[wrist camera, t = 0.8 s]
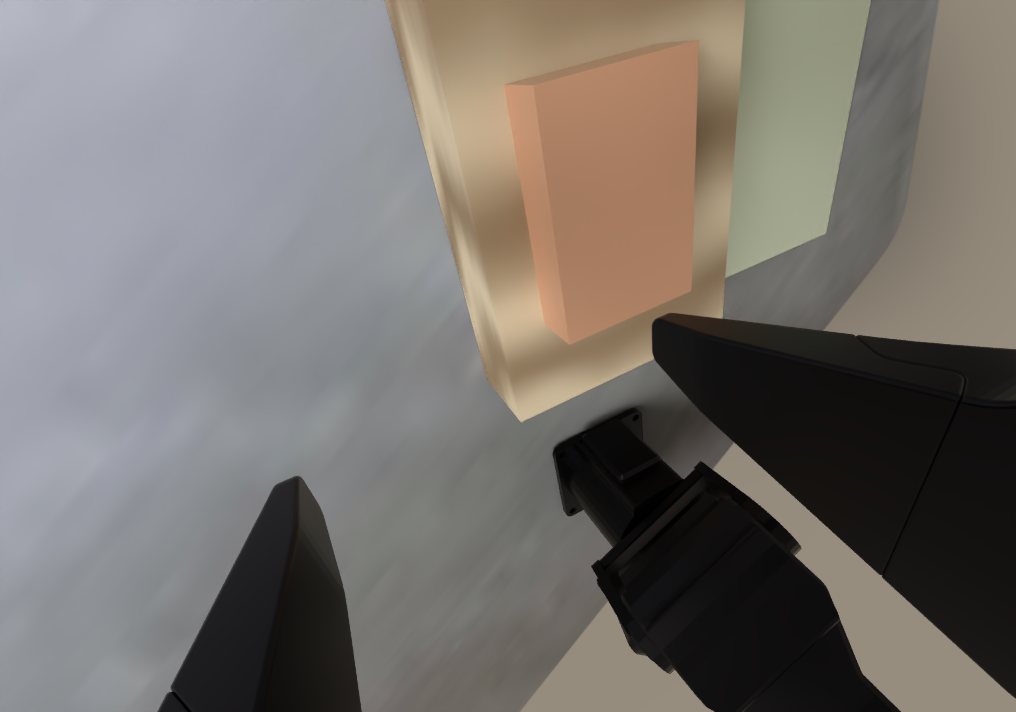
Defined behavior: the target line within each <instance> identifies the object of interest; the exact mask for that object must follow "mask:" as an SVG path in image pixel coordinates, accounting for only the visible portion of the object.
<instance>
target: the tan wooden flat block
mask: <svg viewBox="0 0 1016 712" xmlns="http://www.w3.org/2000/svg"><path fill="white" fill-rule="evenodd" d="M385 2H386V6H387V10H388V13H389V17H390V21H391V24H392V28H393V32H394V35H395V39H396V43H397V47H398V50H399V54H400V58H401V61H402V65H403V69H404V73H405V76H406V80H407V84H408V87H409V91H410V95H411V99H412V102H413V106H414V110H415V113H416V117H417V121H418V124H419V128H420V132H421V136H422V139H423V143H424V147H425V150H426V154H427V158H428V162H429V165H430V169H431V173H432V176H433V180H434V184H435V187H436V191H437V195H438V199H439V202H440V206H441V210H442V213H443V217H444V221H445V225H446V228H447V232H448V236H449V239H450V243H451V247H452V251H453V254H454V258H455V262H456V265H457V269H458V273H459V276H460V280H461V284H462V288H463V291H464V295H465V299H466V302H467V306H468V310H469V314H470V317H471V321H472V325H473V328H474V332H475V336H476V340H477V343H478V347H479V351H480V354H481V358H482V362H483V365H484V369H485V373H486V377H487V380H488V381H489V383H490V384H491V385H492V386H493V388H494V389H495V390H496V391H497V393H498V394H499V395H500V396H501V398H502V399H503V400H504V401H505V403H506V404H507V405H508V406H509V408H510V409H511V410H512V411H513V413H514V414H515V415H516V416H517V418H518V419H519V420H520V421H521V422H523V421H525V420H527V419H529V418H531V417H533V416H535V415H537V414H539V413H542V412H544V411H546V410H548V409H550V408H552V407H554V406H556V405H558V404H560V403H562V402H565V401H567V400H569V399H571V398H573V397H575V396H577V395H579V394H581V393H583V392H586V391H588V390H590V389H592V388H594V387H596V386H598V385H600V384H602V383H604V382H607V381H609V380H611V379H613V378H615V377H617V376H619V375H621V374H623V373H625V372H628V371H630V370H632V369H634V368H636V367H638V366H640V365H642V364H644V363H646V362H649V361H651V360H653V359H654V357H653V353H652V323H653V321H654V320H655V319H656V318H658V317H660V316H663V315H665V314H667V313H680V314H688V315H696V316H704V317H713V318H721V319H722V316H723V302H724V288H725V275H726V261H727V248H728V234H729V221H730V207H731V193H732V180H733V166H734V153H735V139H736V125H737V112H738V98H739V85H740V71H741V57H742V44H743V30H744V17H745V3H746V0H385ZM690 40H699V56H698V89H697V122H696V155H695V188H694V221H693V254H692V287H691V291H690V292H688V293H686V294H683V295H681V296H679V297H676V298H674V299H672V300H670V301H667V302H665V303H663V304H661V305H658V306H656V307H654V308H652V309H649V310H647V311H645V312H643V313H640V314H638V315H636V316H634V317H631V318H629V319H627V320H625V321H622V322H620V323H618V324H615V325H613V326H611V327H609V328H606V329H604V330H602V331H600V332H597V333H595V334H593V335H591V336H588V337H586V338H584V339H582V340H579V341H577V342H575V343H573V344H570V345H569V344H568V343H567V342H565V341H564V340H563V339H562V338H561V337H559V336H558V335H557V334H556V333H555V332H553V331H552V330H551V329H550V328H548V327H547V326H546V325H545V324H544V318H543V312H542V306H541V300H540V294H539V288H538V282H537V277H536V271H535V265H534V259H533V253H532V247H531V241H530V235H529V230H528V224H527V218H526V212H525V206H524V200H523V194H522V188H521V183H520V177H519V171H518V165H517V159H516V153H515V147H514V141H513V136H512V130H511V124H510V118H509V112H508V106H507V100H506V95H505V89H504V84H508V83H512V82H516V81H519V80H523V79H527V78H530V77H534V76H538V75H542V74H545V73H549V72H553V71H556V70H560V69H564V68H568V67H571V66H575V65H579V64H582V63H586V62H590V61H593V60H597V59H601V58H605V57H608V56H612V55H616V54H619V53H623V52H627V51H631V50H634V49H638V48H642V47H645V46H649V45H653V44H657V43H667V42H679V41H690Z"/></svg>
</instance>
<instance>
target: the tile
mask: <svg viewBox="0 0 1016 712" xmlns="http://www.w3.org/2000/svg"><path fill="white" fill-rule="evenodd" d="M698 56H699V40H690V41H679V42H667V43H657V44H653V45H649V46H645V47H642V48H638V49H634V50H631V51H627V52H623V53H619V54H616V55H612V56H608V57H605V58H601V59H597V60H593V61H590V62H586V63H582V64H579V65H575V66H571V67H568V68H564V69H560V70H556V71H553V72H549V73H545V74H542V75H538V76H534V77H530V78H527V79H523V80H519V81H516V82H512V83H508V84H504V89H505V95H506V100H507V106H508V112H509V118H510V124H511V130H512V136H513V141H514V147H515V153H516V159H517V165H518V171H519V177H520V183H521V188H522V194H523V200H524V206H525V212H526V218H527V224H528V230H529V235H530V241H531V247H532V253H533V259H534V265H535V271H536V277H537V282H538V288H539V294H540V300H541V306H542V312H543V318H544V324H545V325H546V326H547V327H548V328H550V329H551V330H552V331H553V332H555V333H556V334H557V335H558V336H559V337H561V338H562V339H563V340H564V341H565V342H567V343H568V344H569V345H570V344H573V343H575V342H577V341H579V340H582V339H584V338H586V337H588V336H591V335H593V334H595V333H597V332H600V331H602V330H604V329H606V328H609V327H611V326H613V325H615V324H618V323H620V322H622V321H625V320H627V319H629V318H631V317H634V316H636V315H638V314H640V313H643V312H645V311H647V310H649V309H652V308H654V307H656V306H658V305H661V304H663V303H665V302H667V301H670V300H672V299H674V298H676V297H679V296H681V295H683V294H686V293H688V292H690V291H691V287H692V254H693V221H694V188H695V155H696V122H697V89H698Z"/></svg>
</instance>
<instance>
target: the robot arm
mask: <svg viewBox="0 0 1016 712" xmlns="http://www.w3.org/2000/svg"><path fill="white" fill-rule="evenodd" d="M652 353H653V357H654V359H655V361H656V362H657V363H658V364H659V366H660V367H661V368H662V369H663V370H664V371H665V372H666V373H667V375H668V376H669V377H670V378H671V379H672V380H673V381H674V382H675V384H676V385H677V386H678V387H679V388H680V389H681V390H682V391H683V393H684V394H685V395H686V396H687V397H688V398H689V399H690V400H691V402H692V403H693V404H694V405H695V406H696V407H697V408H698V409H699V410H700V411H701V412H702V413H703V414H704V415H705V416H706V417H707V418H708V419H709V420H710V421H711V422H713V423H714V424H715V425H716V426H717V427H718V428H719V429H720V430H721V431H722V432H724V433H725V434H726V435H727V436H728V437H729V438H730V439H731V440H732V441H733V442H734V443H736V444H737V445H738V446H739V447H740V448H741V449H742V450H743V451H744V452H745V453H747V454H748V455H749V456H750V457H751V458H752V459H753V460H754V461H755V462H756V463H758V464H759V465H760V466H761V467H762V468H763V469H764V470H765V471H766V472H767V473H768V474H770V475H771V476H772V477H773V478H774V479H775V480H776V481H777V482H778V483H779V484H781V485H782V486H783V487H784V488H785V489H786V490H787V491H788V492H789V493H790V494H792V495H793V496H794V497H795V498H796V499H797V500H798V501H799V502H800V503H801V504H802V505H804V506H805V507H806V508H807V509H808V510H809V511H810V512H811V513H812V514H813V515H815V516H816V517H817V518H818V519H819V520H820V521H821V522H822V523H823V524H824V525H825V526H827V527H828V528H829V529H830V530H831V531H832V532H833V533H834V534H835V535H837V536H838V537H839V538H840V539H841V540H842V541H843V542H844V543H845V544H846V545H848V546H849V547H850V548H851V549H852V550H853V551H854V552H855V553H856V554H857V555H858V556H859V557H861V558H862V559H863V560H864V561H865V562H866V563H867V564H868V565H869V566H871V567H872V568H873V569H874V570H875V571H876V572H877V573H878V574H879V575H882V577H883V579H885V581H887V582H888V583H889V584H890V585H891V586H892V587H893V588H894V589H895V590H896V591H897V592H899V593H900V594H901V595H902V596H903V597H904V598H905V599H906V600H907V601H909V602H910V603H911V604H912V605H913V606H914V607H915V608H916V609H917V610H918V611H920V612H921V613H922V614H923V615H924V616H925V617H926V618H927V619H928V620H929V621H930V622H931V623H933V624H934V625H935V626H936V627H937V628H938V629H939V630H940V631H941V632H942V633H944V634H945V635H946V636H947V637H948V638H949V639H950V640H951V641H952V642H953V643H954V644H956V645H957V646H958V647H959V648H960V649H961V650H962V651H963V652H964V653H965V654H966V655H968V656H969V657H970V658H971V659H972V660H973V661H974V662H975V663H977V664H978V665H979V666H980V667H981V668H982V669H983V670H984V671H985V672H986V673H987V674H988V675H989V676H991V677H992V678H993V679H994V680H995V681H996V682H997V683H998V684H1000V686H1002V687H1003V688H1004V689H1005V690H1006V691H1007V692H1008V693H1010V694H1011V695H1012V696H1013V697H1014V698H1016V349H1005V348H990V347H976V346H963V345H951V344H939V343H927V342H914V341H906V340H897V339H887V338H878V337H870V336H862V335H858V336H855V335H853V334H845V333H836V332H828V331H820V330H812V329H803V328H795V327H787V326H779V325H770V324H762V323H754V322H746V321H737V320H729V319H721V318H713V317H704V316H696V315H688V314H680V313H667V314H665V315H663V316H660V317H658V318H656V319H655V320H654V321H653V323H652ZM553 459H554V464H555V469H556V474H557V479H558V484H559V490H560V495H561V500H562V505H563V510H564V512H565V513H566V515H567V516H573V515H575V514H577V513H579V512H580V511H582V510H584V511H585V512H586V514H587V515H588V516H589V517H590V519H591V520H592V521H593V523H594V524H595V525H596V526H597V528H598V529H599V530H600V532H601V533H602V534H603V535H604V537H605V538H606V539H607V541H608V542H609V543H610V544H611V546H612V547H613V548H612V549H611V550H610V551H609V552H608V553H607V554H606V555H605V556H604V557H603V558H602V559H601V560H600V561H599V560H597V561H596V562H595V563H594V564H593V565H592V566H591V567H592V569H593V570H594V572H595V574H596V576H597V577H598V579H597V582H598V583H597V584H598V586H599V587H600V589H601V590H602V592H603V593H604V594H605V596H606V598H607V599H608V601H609V603H610V605H611V606H612V608H613V610H614V612H615V613H616V615H617V617H618V620H619V622H620V624H621V627H622V629H623V632H624V634H625V637H626V639H627V642H628V644H629V646H630V647H631V649H632V650H633V651H634V652H635V653H636V654H639V655H645V656H648V657H649V658H650V659H651V660H652V661H653V662H655V663H656V664H657V665H658V666H659V667H660V668H661V669H663V670H664V671H665V672H667V673H669V674H671V673H672V672H673V671H674V670H676V671H677V673H678V674H679V675H680V676H681V678H682V679H683V680H684V681H685V682H686V684H687V685H688V686H689V687H690V689H691V690H692V691H693V692H694V694H695V695H696V696H697V697H698V698H699V699H700V700H701V701H702V703H703V704H704V705H705V706H706V707H707V708H709V709H711V710H713V711H714V712H901V711H899V709H898V708H897V707H896V706H895V705H894V704H893V703H891V702H890V701H889V700H888V699H887V698H886V697H885V696H884V695H883V694H882V693H881V692H880V691H879V690H878V689H877V688H876V687H875V686H874V685H873V684H872V683H871V682H870V681H869V680H868V679H867V678H866V677H865V676H864V675H863V674H862V672H861V670H860V667H859V665H858V663H857V660H856V658H855V655H854V653H853V650H852V648H851V645H850V643H849V640H848V638H847V636H846V633H845V631H844V628H843V626H842V624H841V621H840V618H839V615H838V612H837V610H836V608H835V606H834V604H833V601H832V599H831V596H830V594H829V591H828V589H827V588H826V586H825V585H824V583H823V582H822V581H821V580H820V579H819V578H818V577H817V576H815V575H814V574H813V573H812V572H811V571H810V570H809V569H808V568H807V567H806V566H805V565H804V564H803V563H802V562H801V561H800V560H798V559H797V558H796V557H795V555H796V554H797V553H798V552H799V551H800V550H801V546H800V545H799V543H798V542H797V541H796V540H795V539H794V537H793V536H792V535H791V534H790V533H789V532H788V531H787V530H786V529H785V528H784V527H783V526H782V525H781V524H780V523H779V522H778V521H777V520H776V519H774V518H773V517H772V516H771V515H770V514H769V513H767V511H765V510H764V509H763V508H762V507H761V506H760V505H758V504H757V503H756V502H755V501H754V500H752V499H751V498H750V497H748V496H747V495H746V494H744V493H743V492H742V491H740V490H739V489H738V488H736V487H735V486H734V485H732V484H731V483H729V482H728V481H727V480H726V479H724V478H723V477H721V476H720V475H719V474H717V473H716V472H715V471H713V470H712V469H711V468H709V467H708V466H707V465H705V464H704V463H703V462H701V461H700V462H699V463H698V464H697V465H696V466H695V467H694V468H695V469H694V470H693V471H692V472H691V473H690V474H689V475H688V476H687V477H686V478H685V479H682V478H681V477H680V476H679V475H678V474H677V473H676V472H675V471H674V470H673V469H672V468H671V467H669V466H668V465H667V464H666V463H665V462H664V461H663V460H662V459H661V458H660V457H659V455H658V454H657V453H655V452H654V451H653V450H652V449H651V448H650V447H649V446H648V445H647V444H646V443H645V442H643V429H642V413H641V412H640V411H639V410H637V409H636V408H633V409H630V410H628V411H626V412H624V413H622V414H620V415H618V416H616V417H614V418H612V419H610V420H608V421H606V422H604V423H602V424H600V425H598V426H596V427H594V428H592V429H590V430H588V431H586V432H584V433H582V434H580V435H578V436H576V437H575V438H573V439H571V440H569V441H567V442H565V443H563V444H561V445H559V446H557V447H556V448H555V449H554V451H553ZM171 690H172V692H169V693H167V694H166V696H165V698H164V700H163V702H162V704H161V706H160V708H159V710H158V712H362V711H361V703H360V696H359V689H358V682H357V675H356V668H355V660H354V653H353V646H352V639H351V632H350V624H349V617H348V610H347V604H346V598H345V592H344V588H343V584H342V580H341V576H340V573H339V569H338V566H337V562H336V559H335V555H334V551H333V548H332V544H331V541H330V537H329V533H328V530H327V526H326V523H325V519H324V516H323V513H322V510H321V508H320V506H319V504H318V503H317V501H316V499H315V498H314V496H313V495H312V493H311V491H310V490H309V488H308V486H307V485H306V483H305V482H304V480H303V479H302V478H301V477H300V476H294V477H292V478H290V479H287V480H285V481H283V482H281V483H278V484H277V485H275V486H274V488H273V489H272V491H271V493H270V495H269V497H268V499H267V501H266V503H265V505H264V507H263V509H262V511H261V513H260V515H259V517H258V518H257V520H256V522H255V524H254V526H253V528H252V530H251V532H250V534H249V536H248V538H247V540H246V542H245V544H244V546H243V548H242V549H241V551H240V553H239V555H238V557H237V559H236V561H235V563H234V565H233V567H232V569H231V571H230V573H229V575H228V577H227V579H226V580H225V582H224V584H223V586H222V588H221V590H220V592H219V594H218V596H217V598H216V600H215V602H214V604H213V606H212V608H211V610H210V611H209V613H208V615H207V617H206V619H205V621H204V623H203V625H202V627H201V629H200V631H199V633H198V635H197V637H196V639H195V640H194V642H193V644H192V646H191V648H190V650H189V652H188V654H187V656H186V658H185V660H184V662H183V664H182V666H181V668H180V670H179V671H178V673H177V675H176V677H175V679H174V681H173V683H172V685H171Z"/></svg>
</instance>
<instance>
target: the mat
mask: <svg viewBox="0 0 1016 712" xmlns="http://www.w3.org/2000/svg"><path fill="white" fill-rule="evenodd" d="M870 3H871V0H746V3H745V17H744V30H743V44H742V57H741V71H740V85H739V98H738V112H737V125H736V139H735V153H734V166H733V180H732V193H731V207H730V221H729V234H728V248H727V261H726V275H725V278H727V277H729V276H731V275H733V274H736V273H738V272H740V271H742V270H745V269H747V268H749V267H751V266H754V265H756V264H758V263H760V262H763V261H765V260H767V259H769V258H772V257H774V256H776V255H778V254H781V253H783V252H785V251H787V250H790V249H792V248H794V247H796V246H799V245H801V244H803V243H805V242H808V241H810V240H812V239H814V238H817V237H819V236H821V235H823V234H826V231H827V226H828V221H829V215H830V210H831V205H832V200H833V195H834V190H835V184H836V179H837V174H838V169H839V164H840V158H841V153H842V148H843V143H844V138H845V133H846V127H847V122H848V117H849V112H850V107H851V101H852V96H853V91H854V86H855V81H856V75H857V70H858V65H859V60H860V55H861V50H862V44H863V39H864V34H865V29H866V24H867V18H868V13H869V8H870Z"/></svg>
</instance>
